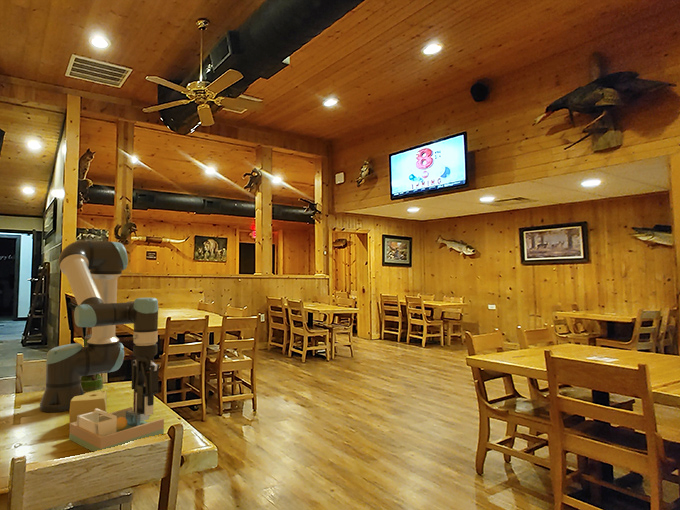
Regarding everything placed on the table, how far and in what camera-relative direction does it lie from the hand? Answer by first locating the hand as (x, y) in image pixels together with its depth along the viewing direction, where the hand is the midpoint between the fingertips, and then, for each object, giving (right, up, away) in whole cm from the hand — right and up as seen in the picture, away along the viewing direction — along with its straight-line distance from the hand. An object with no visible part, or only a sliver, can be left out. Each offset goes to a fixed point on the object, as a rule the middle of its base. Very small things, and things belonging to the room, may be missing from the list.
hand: (144, 413), depth 148 cm
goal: (-9, -3, -13) cm, 16 cm away
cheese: (-21, -6, +4) cm, 22 cm away
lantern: (-45, -6, +48) cm, 66 cm away
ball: (-5, -1, -6) cm, 8 cm away
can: (-6, -6, +13) cm, 16 cm away
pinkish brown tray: (-5, -5, -7) cm, 10 cm away
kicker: (-1, -3, -1) cm, 3 cm away
